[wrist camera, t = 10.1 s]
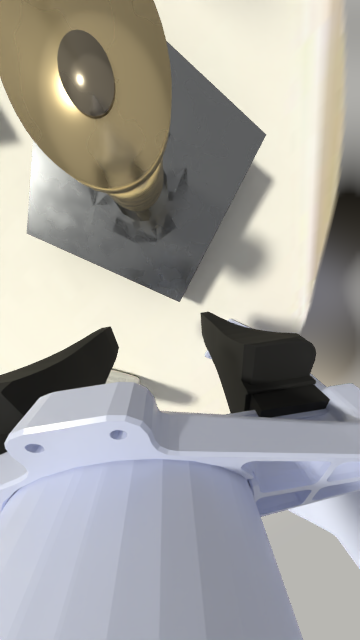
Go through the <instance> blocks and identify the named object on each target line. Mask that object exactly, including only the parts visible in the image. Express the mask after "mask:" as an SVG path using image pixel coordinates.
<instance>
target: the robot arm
mask: <svg viewBox="0 0 360 640" xmlns="http://www.w3.org/2000/svg"><path fill="white" fill-rule="evenodd" d="M201 325H202V336H203V339H204V342H205V345H206V347H207V349H208V350H207V351H206V353H205V357H207V358H209V359H212V360H213V362H214V364H215V367H216V369H217V372H218V375H219V378H220V381H221V384H222V387H223V390H224V393H225V396H226V399H227V403H228V406H229V409H230V412H231V413H230V414H226V415H219V414H203V413H186V412H170V411H160V410H159V409H158V407H157V404H156V401H155V398H154V396H153V395H152V393H151V392H150V391H149V390H148V388H146V387H144V386H142V385H140V384H137V383H135V382H115V383H108V384H105V383H106V381H107V379H108V376H109V374H110V372H111V369H112V367H113V365H114V362H115V360H116V357H117V353H118V349H119V347H118V344H117V341H116V339H115V336H114V334H113V331H112V329H111V327H105V328H101V329H99V330H97V331H95V332H94V333H92V334H90V335H88V336H87V337H85V338H83V339H82V340H80V341H78V342H77V343H75V344H73V345H71V346H69V347H68V348H66V349H64V350H62V351H60V352H58V353H56V354H54V355H52V356H50V357H47V358H45V359H43V360H40V361H38V362H36V363H33V364H31V365H28V366H26V367H23V368H20V369H17V370H15V371H12V372H9V373H6V374H3V375H0V640H303V638H302V635H301V632H300V629H299V626H298V624H297V621H296V618H295V615H294V612H293V609H292V606H291V603H290V601H289V597H288V595H287V592H286V589H285V586H284V583H283V580H282V578H281V574H280V572H279V569H278V566H277V563H276V560H275V557H274V554H273V551H272V549H271V545H270V543H269V540H268V537H267V534H266V531H265V528H264V525H263V522H262V520H261V517H262V516H266V515H270V514H273V513H277V512H281V511H284V510H289V511H290V512H292V513H294V514H296V515H298V516H299V517H302V518H303V519H305V520H308V521H309V522H311V523H313V524H315V525H317V526H319V527H321V528H323V529H325V530H326V531H328V532H330V533H332V534H333V535H334V536H336V537H337V538H338V540H339V541H340V542H341V544H342V545H343V547H344V548H345V550H346V551H347V552H348V554H349V555H350V556H351V558H352V559H353V561H354V562H355V564H356V565H357V566H358V568H359V569H360V389H359V388H358V387H357V386H355V385H354V384H353V383H347V384H341V385H334V386H329V387H326V386H325V385H323V384H322V383H321V382H320V381H319V380H318V379H317V378H315V377H314V376H313V375H312V374H311V373H310V372H311V369H312V367H313V364H314V361H315V356H316V350H315V347H314V346H313V344H312V343H310V342H309V341H307V340H305V339H304V338H303V337H301V336H300V335H299V334H296V333H278V332H269V331H262V330H256V329H252V328H250V327H247V326H245V325H243V324H241V323H239V322H237V321H234V320H232V319H229V320H228V321H227V320H224V319H222V318H220V317H218V316H216V315H214V314H212V313H210V312H203V313H201Z"/></svg>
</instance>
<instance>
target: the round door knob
mask: <svg viewBox="0 0 360 640" xmlns="http://www.w3.org/2000/svg"><path fill="white" fill-rule="evenodd" d="M0 77H1V80H2V83H3V86H4V88H5V90H6V93H7V95H8V98H9V100H10V102H11V104H12V106H13V108H14V110H15V112H16V114H17V116H18V117H19V119H20V121H21V122H22V124H23V126H24V127H25V129H26V131H27V132H28V133H29V135H30V136H31V138H32V139H33V140H34V142H35V143H36V144H37V145H38V147H39V148H40V149H41V150H42V151H43V152H44V154H45V155H46V156H47V157H48V158H49V159H51V160H52V161H53V162H54V163H55V164H56V165H57V166H58V167H60V168H61V169H62V170H63V171H65V172H66V173H67V174H69V175H70V176H71V177H73V178H74V179H76V180H77V181H79V182H80V183H82V184H83V185H85V186H87V187H89V188H91V189H93V190H96V191H99V192H103V193H106V194H108V195H109V196H110V197H111V198H112V199H113V200H114V201H116V202H117V203H118V204H119V205H120V206H122V207H123V208H126V209H128V210H131V211H143V210H146V209H148V208H150V207H151V206H152V205H154V204H155V202H156V201H157V200H158V198H159V196H160V194H161V191H162V187H163V179H164V176H163V155H164V152H165V149H166V146H167V142H168V137H169V132H170V123H171V102H172V79H171V68H170V59H169V54H168V48H167V43H166V39H165V35H164V31H163V27H162V23H161V20H160V17H159V14H158V12H157V9H156V6H155V3H154V1H153V0H0Z"/></svg>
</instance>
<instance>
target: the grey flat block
mask: <svg viewBox="0 0 360 640" xmlns="http://www.w3.org/2000/svg"><path fill="white" fill-rule="evenodd" d="M166 43H167V48H168V54H169V59H170V68H171V79H172V102H171V123H170V132H169V137H168V142H167V146H166V149H165V152H164V155H163V176H164V179H163V187H162V191H161V194H160V196H159V198H158V200H157V201H156V202H155V204H154V205H152V206H151V207H150V208H148V209H146V210H143V211H131V210H128V209H126V208H123V207H122V206H120V205H119V204H118V203H117V202H116V201H114V200H113V199H112V198H111V197H110V196H109V195H108V194H106V193H103V192H99V191H96V190H93V189H91V188H89V187H87V186H85V185H83V184H82V183H80V182H79V181H77V180H76V179H74V178H73V177H71V176H70V175H69V174H67V173H66V172H65V171H63V170H62V169H61V168H60V167H58V166H57V165H56V164H55V163H54V162H53V161H52V160H51V159H49V158H48V157H47V156H46V155H45V154H44V152H43V151H42V150H41V149H40V148H39V147H38V145H37V144H36V143H35V142H34V140H33V151H32V165H31V180H30V194H29V209H28V223H27V234H29V235H32V236H34V237H36V238H38V239H41V240H43V241H45V242H47V243H49V244H52V245H54V246H56V247H58V248H61V249H63V250H65V251H67V252H69V253H72V254H74V255H76V256H78V257H81V258H83V259H85V260H87V261H89V262H92V263H94V264H96V265H98V266H101V267H103V268H105V269H107V270H109V271H112V272H114V273H116V274H118V275H121V276H123V277H125V278H127V279H130V280H132V281H134V282H136V283H138V284H141V285H143V286H145V287H147V288H150V289H152V290H154V291H156V292H158V293H161V294H163V295H165V296H167V297H170V298H172V299H174V300H176V301H178V302H180V300H181V299H182V297H183V295H184V293H185V291H186V289H187V287H188V285H189V283H190V281H191V279H192V277H193V275H194V273H195V271H196V270H197V268H198V266H199V264H200V262H201V260H202V258H203V256H204V254H205V252H206V250H207V248H208V246H209V244H210V242H211V240H212V239H213V237H214V235H215V233H216V231H217V229H218V227H219V225H220V223H221V221H222V219H223V217H224V215H225V213H226V211H227V210H228V208H229V206H230V204H231V202H232V200H233V198H234V196H235V194H236V192H237V190H238V188H239V186H240V184H241V182H242V180H243V179H244V177H245V175H246V173H247V171H248V169H249V167H250V165H251V163H252V161H253V159H254V157H255V155H256V153H257V151H258V150H259V148H260V146H261V144H262V142H263V140H264V138H265V136H266V134H265V133H264V132H263V131H262V130H261V129H260V128H259V127H258V126H256V125H255V124H254V123H253V122H252V121H251V120H250V119H249V118H248V117H247V116H246V115H245V114H244V113H243V112H242V111H240V110H239V109H238V108H237V107H236V106H235V105H234V104H233V103H232V102H231V101H230V100H229V99H228V98H227V97H226V96H225V95H223V94H222V93H221V92H220V91H219V90H218V89H217V88H216V87H215V86H214V85H213V84H212V83H211V82H210V81H209V80H207V79H206V78H205V77H204V76H203V75H202V74H201V73H200V72H199V71H198V70H197V69H196V68H195V67H194V66H193V65H191V64H190V63H189V62H188V61H187V60H186V59H185V58H184V57H183V56H182V55H181V54H180V53H179V52H178V51H177V50H175V49H174V48H173V47H172V46H171V45H170V44H169V43H168V42H167V41H166Z"/></svg>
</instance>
